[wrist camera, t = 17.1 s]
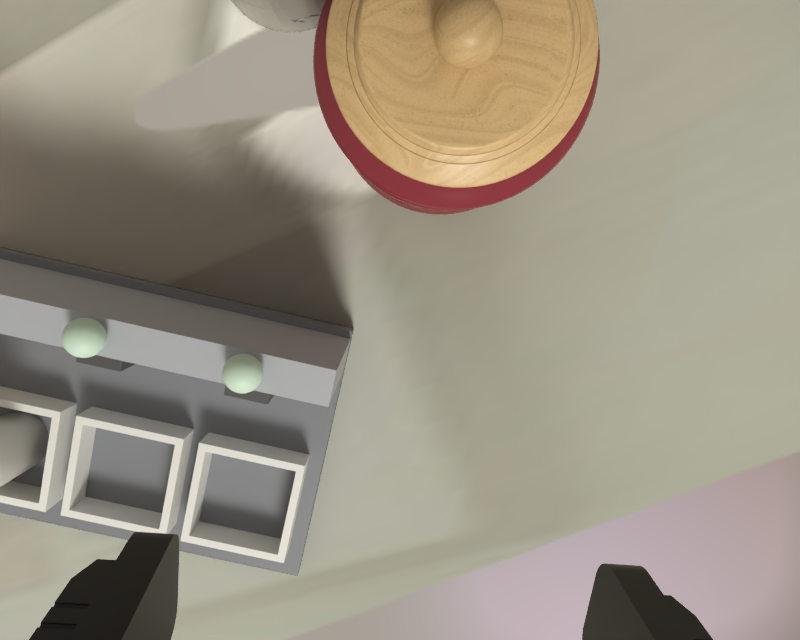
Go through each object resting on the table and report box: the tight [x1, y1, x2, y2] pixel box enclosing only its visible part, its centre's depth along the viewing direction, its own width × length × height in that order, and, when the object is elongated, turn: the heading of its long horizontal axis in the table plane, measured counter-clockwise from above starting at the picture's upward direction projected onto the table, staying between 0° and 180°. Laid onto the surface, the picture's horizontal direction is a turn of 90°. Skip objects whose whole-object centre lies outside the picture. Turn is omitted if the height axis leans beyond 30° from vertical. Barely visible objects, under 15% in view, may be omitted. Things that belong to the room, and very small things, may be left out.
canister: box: [313, 0, 600, 214], centre depth 30 cm, size 13×13×18 cm
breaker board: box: [0, 248, 353, 576], centre depth 36 cm, size 25×18×12 cm
